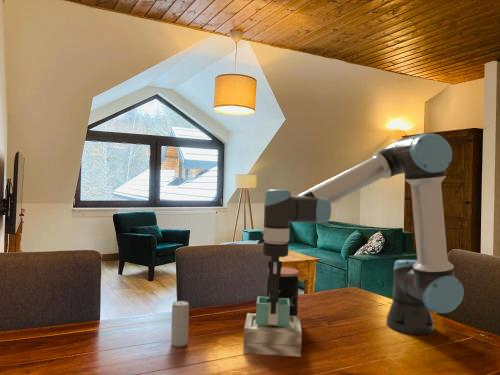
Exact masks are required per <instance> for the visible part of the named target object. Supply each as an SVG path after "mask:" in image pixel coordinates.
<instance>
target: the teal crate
mask: <svg viewBox="0 0 500 375" xmlns="http://www.w3.org/2000/svg"><path fill="white" fill-rule="evenodd" d="M278 299H279V301H278V322H277V325H274V326H287V327H289V313H290V302H289V299H287V298H278ZM267 300H269V297H267V296H257V298H256V309H255V314H256V324H261V325H270V324H268V309H269V302H267Z"/></svg>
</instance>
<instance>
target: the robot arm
mask: <svg viewBox="0 0 500 375" xmlns="http://www.w3.org/2000/svg"><path fill="white" fill-rule="evenodd" d="M452 160H453V149H452V147H451V145H450V144H449V142H448V141H447V139H445V138H444V137H443V136H442V135H440V134H437V133H421V134H416V135H413V136H407V137H403V138H399V139H398V140H396V141H394V142H393V143H391V144H389V145H387V146H385V147H383V148H382V149H380V150H378V151H377V152H375V153H373V155H372V158H369V159H367V160H366V161H363V162H361V163H359V164H357V165H355V166H353V167H351V168H349V169H347V170H345V171H343V172H341V173H339V174H337V175H334V176H333V177H331V178H329V179H327V180H325V181H323V182H321V183H319V184H316V185H315V186H313V187H311V188H309V189H307V190H305V191H303V192H301V193H299V194H294V195H291V194H292V193H291V190H290V189H267V190H266V192H265V197H264V206H263V207H264V209H263V210H264V211H263V212H264V213H263V215H264V216H263V229H261V234H263V237H262V239H263V240H264V242H263V243H262V254H263V256H265V257H270V260H268V263H267V265H268V266H267V267H268V269H269V273H268V276H269V277H270V287H269V288H270V290H269V292H270V294H269V300H267V302H269V309H268V324H270V325H277V322H278V301H279V299H278V293H280V290H279V278H280V276H281V268H282V267H283V261H281V260H280V258H285V257H287V256H288V255H289V248H290V247H289V246H290V244H289V243H288V242H289V241H290V223H309V224H312V223H314V224H324V223H325V224H326V223H328V222H329V221H330V219H331V215H332V204H334V203H335V202H337V201H339V200H342V199H344V198H345V197H348V196H349V195H351V194H353V193H355V192H358V191H360V190H362V189H364V188H365V187H368V186H369V185H371V184H374V183H375V182H377V181H379V180H381V179H383V178H384V179H388V180H389V179H390V178H392V177H394V176H397V175H401V174H404V180H405V182H407V183H408V184H409V185H410V192H411V201H412V203H411V204H412V214H413V225H414V235H415V237H414V238H415V246H416V247H415V248H416V259H397V260H395V261H394V265H393V270H392V271H393V279H392V280H393V281H392V282H393V284H392V302H391V305H390V308H389V310H388V313H387V315H386V320H385V321H386V326H388V327H389V328H390V329H391V330H393V331H397V332H399V333H404V334H409V335H416V336H418V335H430V334H432V333H434V329H435V328H434V326H435V325H434V324H435V323H434V321H433V316H432V313H431V311H432V312H435V313H438V314H448V313H450V312H452V311H454V310H456V309H457V308H458V306H459V305H460V304H461V303H462V301H463V300H464V295H465V290H464V286H463V284H462V282H461V281H460V280H459V279H458V278H457V277H456V276H455V267H454V264H452V263H451V262H450V261H449V260H448V252H447V251H448V248H447V237H446V226H445V216H444V214H445V213H444V203H443V202H444V201H443V191H442V182H443V181H444V180H445V178H446V177H447V172H446V169H447V168H448V167H449V165H450V164H451V162H452Z"/></svg>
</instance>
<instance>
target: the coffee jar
mask: <svg viewBox="0 0 500 375" xmlns="http://www.w3.org/2000/svg"><path fill="white" fill-rule="evenodd" d="M267 274H269V268H268V269H267ZM299 274H300V270H298V269H296V268H292V267H285V266H284V267H283V266H282V268H281V276H280V278H279V290H280V293H278V298H287V299H289V302H290V313H289V316H298V308H299V307H298V304H299V281H300V280H299V277H298V275H299ZM266 282H267V283H266V284H267V285H266V288H267V289H266V297H269V294H270V292H269V290H270V288H269V287H270V277H269V275H268V276H267V281H266Z"/></svg>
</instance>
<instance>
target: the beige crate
mask: <svg viewBox="0 0 500 375" xmlns="http://www.w3.org/2000/svg"><path fill="white" fill-rule="evenodd" d="M302 336H303V335H302V326H301V320H300V316H299V315H297V316H289V327H287V326H274V325H261V324H256V313H250V312H247V314H246V319H245V323H244V327H243V350H242V351H243V352H242V353H243V354H254V355H267V356H268V355H270V356H285V357H287V356H288V357H300V358H301V357H302Z"/></svg>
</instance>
